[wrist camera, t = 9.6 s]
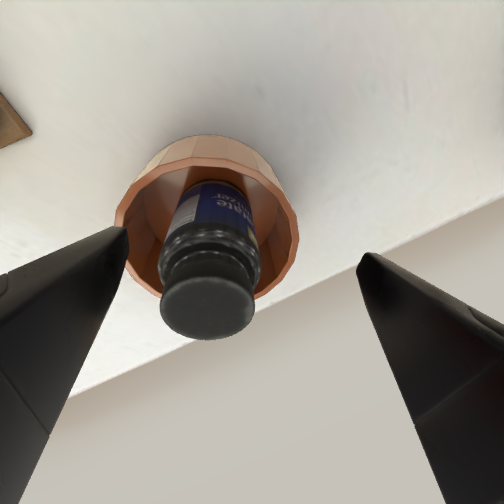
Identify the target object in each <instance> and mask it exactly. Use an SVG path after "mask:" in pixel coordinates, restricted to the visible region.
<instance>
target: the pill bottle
mask: <svg viewBox="0 0 504 504" xmlns="http://www.w3.org/2000/svg"><path fill="white" fill-rule="evenodd" d="M158 272H159V277H160V280H161V282H162V284H163V286H164V288H163V293H162V297H161V300H160V313H161V316H162V318H163V320H164V322H165V323H166V324H167V325H168V326H169V327H170V328H171V329H172V330H174V331H175V332H177V333H178V334H181V335H183V336H185V337H188V338H193V339H198V340H215V339H222V338H226V337H229V336H232V335H234V334H236V333H238V332H239V331H241V330H243V328H245V327H246V326H247V325H248V324H249V323H250V321H251V320H252V317H253V315H254V311H255V302H254V289H255V287H256V285H257V284H258V281H259V278H260V275H261V259H260V254H259V249H258V244H257V238H256V233H255V227H254V222H253V217H252V210H251V207H250V203H249V201H248V199H247V197H246V196H245V194H244V193H243V192H242V191H241V190H240V189H239V188H238V187H237V186H235V185H234V184H232V183H230V182H228V181H225V180H215V179H205V180H200V181H198V182H195V183H194V184H192V185H191V186H190V187H189V188H187V189H186V190H185V191H184V192H183V194H182V195H181V197H180V199H179V202H178V205H177V207H176V210H175V213H174V216H173V219H172V222H171V225H170V227H169V230H168V233H167V236H166V239H165V241H164V244H163V247H162V250H161V252H160V255H159V261H158Z"/></svg>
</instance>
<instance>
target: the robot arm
mask: <svg viewBox="0 0 504 504" xmlns="http://www.w3.org/2000/svg"><path fill="white" fill-rule="evenodd" d="M128 255H129V239H128V232H127V229H126V228H125V227H120V226H112V227H109V228H107V229H105V230H102V231H100V232H98V233H96V234H93V235H91V236H89V237H87V238H84V239H82V240H80V241H77V242H75V243H73V244H71V245H68V246H66V247H64V248H62V249H59V250H57V251H55V252H53V253H50V254H48V255H46V256H43V257H41V258H39V259H37V260H34V261H32V262H30V263H28V264H25V265H23V266H21V267H18V268H16V269H14V270H12V271H9V272H8V274H6V273H5V274H2V275H0V504H18V503H19V501H20V499H21V497H22V495H23V493H24V491H25V488H26V486H27V484H28V482H29V480H30V478H31V475H32V473H33V471H34V469H35V467H36V465H37V463H38V460H39V458H40V456H41V454H42V452H43V449H44V447H45V445H46V443H47V441H48V439H49V435H50V434H51V432H52V430H53V428H54V426H55V423H56V421H57V419H58V417H59V415H60V413H61V411H62V408H63V406H64V404H65V402H66V400H67V398H68V396H69V393H70V391H71V389H72V387H73V385H74V383H75V381H76V378H77V376H78V374H79V372H80V370H81V368H82V365H83V363H84V361H85V359H86V357H87V355H88V353H89V350H90V348H91V346H92V344H93V342H94V340H95V338H96V335H97V333H98V331H99V329H100V327H101V325H102V322H103V320H104V318H105V316H106V314H107V312H108V310H109V307H110V305H111V303H112V301H113V299H114V297H115V294H116V292H117V290H118V287H119V284H120V281H121V277H122V274H123V271H124V268H125V265H126V261H127V258H128ZM356 275H357V278H358V282H359V285H360V289H361V292H362V295H363V299H364V302H365V306H366V308H367V311H368V313H369V316H370V318H371V321H372V323H373V326H374V328H375V330H376V333H377V335H378V338H379V340H380V343H381V345H382V348H383V350H384V353H385V355H386V357H387V360H388V362H389V365H390V367H391V370H392V372H393V374H394V377H395V380H396V382H397V384H398V387H399V389H400V391H401V394H402V397H403V399H404V402H405V404H406V406H407V409H408V411H409V414H410V416H411V419H412V421H413V423H414V424H415V429H416V431H417V434H418V436H419V439H420V441H421V444H422V446H423V449H424V451H425V453H426V456H427V458H428V461H429V463H430V466H431V468H432V471H433V473H434V475H435V478H436V481H437V483H438V485H439V488H440V490H441V493H442V495H443V498H444V500H445V503H446V504H504V325H503V324H501V323H500V322H498V321H496V320H494V319H492V318H491V317H489V316H487V315H485V314H483V313H482V312H480V311H478V310H476V309H474V308H473V307H471V306H469V305H466V304H465V303H463V302H462V301H460V300H458V299H457V298H455V297H453V296H451V295H450V294H448V293H446V292H444V291H442V290H441V289H439V288H437V287H435V286H434V285H432V284H430V283H428V282H426V281H425V280H423V279H421V278H419V277H418V276H416V275H414V274H412V273H411V272H409V271H407V270H405V269H403V268H402V267H400V266H398V265H396V264H395V263H393V262H391V261H389V260H388V259H386V258H384V257H382V256H381V255H379V254H377V253H370V252H367V253H365V254H364V255H363V257H362V259H361V261H360V263H359V264H358V266H357V269H356Z"/></svg>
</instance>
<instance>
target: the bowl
mask: <svg viewBox="0 0 504 504" xmlns="http://www.w3.org/2000/svg"><path fill="white" fill-rule="evenodd" d="M205 179H215V180H225V181H228V182H230V183H232V184H234V185H235V186H237V187H238V188H239V189H240V190H241V191H242V192H243V193H244V194H245V196H246V197H247V199H248V201H249V203H250V207H251V210H252V217H253V222H254V227H255V233H256V238H257V244H258V249H259V254H260V259H261V275H260V278H259V281H258V284H257V285H256V287H255V289H254V300H255V299H257V298H259V297H261V296H263V295H265V294H267V293H268V292H269V291H270V290H271V289H272V288H274V287H275V286H276V285H277V284H278V283H279V282H281V281H282V280H283V278H284V277H285V275H286V273H287V272H288V270H289V269H290V267H291V266H292V264H293V262H294V260H295V256H296V252H297V247H298V243H299V232H298V225H297V218H296V214H295V212H294V210H293V208H292V206H291V204H290V202H289V200H288V198H287V196H286V194H285V192H284V190H283V188H282V187H281V185H280V183H279V181H278V179H277V177H276V175H275V174H274V172H273V170H272V168H271V166H270V165H269V164H268V163H267V162H266V161H265V160H264V159H263V158H262V156H261V155H260V154H258V153H257V152H256V151H254V150H253V149H252V148H250V147H249V146H247V145H245V144H244V143H242V142H239V141H237V140H234V139H232V138H228V137H224V136H218V135H196V136H190V137H187V138H184V139H181V140H178V141H176V142H174V143H172V144H170V145H168V146H167V147H166V148H164V149H163V150H161V151H160V152H159V153H158V154H157V155H155V156H154V157H153V158H152V159H151V161H150V162H149V163H148V164H147V166H146V167H145V168H144V169H143V171H142V172H141V173H140V174H139V176H138V177H137V178H136V180H135V181H134V182H133V183H132V185H131V186H130V188H129V189H128V191H127V193H126V194H125V196H124V197H123V199H122V201H121V202H120V204H119V206H118V207H117V210H116V216H115V223H114V226H120V227H125V228H126V229H127V232H128V239H129V255H128V258H127V261H126V265H125V268H126V269H127V271H128V272H129V274H130V275H131V276H132V278H133V279H134V280H135V281H136V282H137V283H139V284H140V285H141V286H142V287H144V288H145V289H146V290H148V291H149V292H150V293H151V294H153V295H154V296H157V297H159V298H161V297H162V293H163V288H164V286H163V284H162V282H161V280H160V277H159V272H158V261H159V255H160V252H161V250H162V247H163V244H164V241H165V239H166V236H167V233H168V230H169V227H170V225H171V222H172V219H173V216H174V213H175V210H176V207H177V205H178V202H179V199H180V197H181V195H182V194H183V192H184V191H185V190H186V189H187V188H189V187H190V186H191V185H192V184H194V183H195V182H198V181H200V180H205Z"/></svg>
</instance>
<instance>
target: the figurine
mask: <svg viewBox="0 0 504 504" xmlns="http://www.w3.org/2000/svg"><path fill="white" fill-rule="evenodd" d="M30 135H32V132H31V131H30V129H29V128H28V127H27V126H26V124H25V123H24V122H23V121H22V119H21V118H20V117H19V116H18V114H17V113H16V112H15V111H14V109H13V108H12V107H11V106H10V104H9V103H8V102H7V101H6V99H5V98H4V97H3V96H2V94H1V93H0V149H1V148H3V147H6V146H8V145H10V144H12V143H14V142H17V141H19V140H21V139H23V138H25V137H28V136H30Z"/></svg>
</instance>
